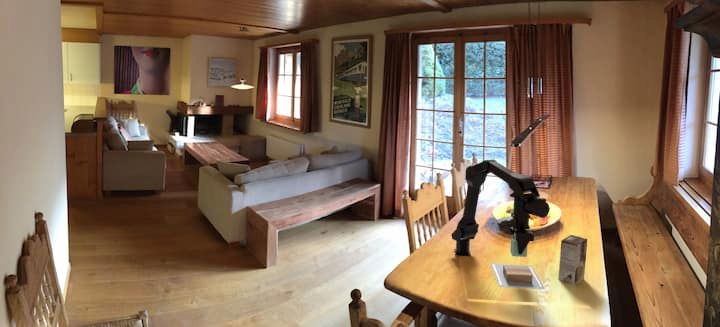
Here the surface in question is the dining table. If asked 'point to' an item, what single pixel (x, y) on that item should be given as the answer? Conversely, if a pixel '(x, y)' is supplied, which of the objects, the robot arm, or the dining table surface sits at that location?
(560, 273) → the coffee box
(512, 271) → the plinth
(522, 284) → the board
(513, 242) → the teal block
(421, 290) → the dining table surface
